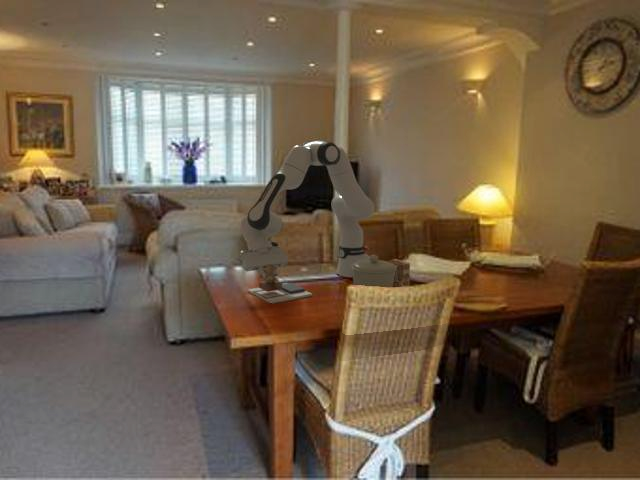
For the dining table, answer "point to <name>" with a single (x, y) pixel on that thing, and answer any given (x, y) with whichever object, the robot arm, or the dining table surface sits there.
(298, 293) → the stamp board
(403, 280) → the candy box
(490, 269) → the dining table surface
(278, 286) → the stamp
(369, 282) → the canister
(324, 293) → the dining table surface
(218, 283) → the dining table surface
